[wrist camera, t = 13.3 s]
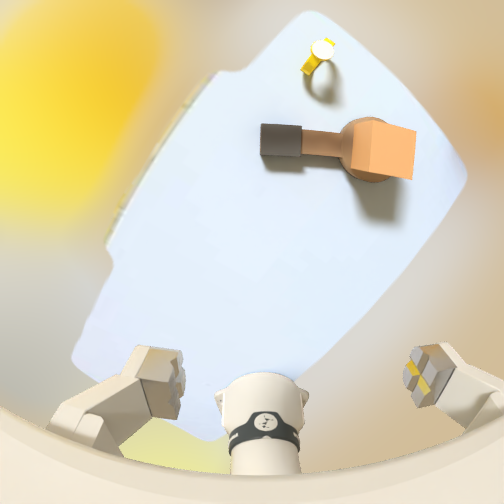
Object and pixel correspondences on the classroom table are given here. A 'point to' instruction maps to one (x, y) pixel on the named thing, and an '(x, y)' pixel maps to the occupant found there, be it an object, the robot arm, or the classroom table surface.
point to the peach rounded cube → (383, 149)
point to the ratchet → (315, 144)
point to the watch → (318, 55)
